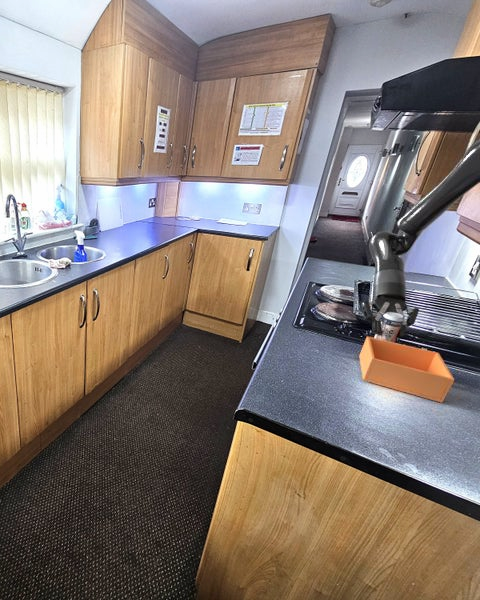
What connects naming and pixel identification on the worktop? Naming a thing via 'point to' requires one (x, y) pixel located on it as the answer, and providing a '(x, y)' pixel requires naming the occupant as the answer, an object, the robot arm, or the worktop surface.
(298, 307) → the worktop surface
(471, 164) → the robot arm
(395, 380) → the tote
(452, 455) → the worktop surface
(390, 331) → the beer can
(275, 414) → the worktop surface
